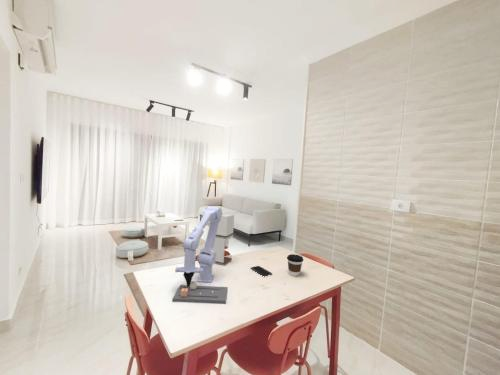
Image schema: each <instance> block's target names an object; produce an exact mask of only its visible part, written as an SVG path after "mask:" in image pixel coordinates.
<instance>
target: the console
mask: <svg viewBox="0 0 500 375" xmlns="http://www.w3.org/2000/svg"><path fill="white" fill-rule="evenodd" d="M182 288H188V295H187V297H181V290H182ZM228 289H229V287H228V286H215V285H214V286H211V285H210V286H209V285H207V286H206V285H197V287H196V289H190V286H187V284H180V285H179V286H178V288H177V289H176V292H175V293H174V295H173V297H172V302H175V303H176V302H177V303H197V304H198V303H199V304H200V303H201V304H220V305H222V304H223V305H224V304H225V305H226V303H227V295H228Z"/></svg>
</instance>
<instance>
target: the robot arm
mask: <svg viewBox="0 0 500 375" xmlns="http://www.w3.org/2000/svg"><path fill="white" fill-rule="evenodd" d="M202 213H203V215H202V217H201V219H200V221H199V222H198V225H197V226H194V228H193V229H192V231H191V232H190V234H189V236H188V237H187V238H185V239H184V240H183V243H182V247H183V252H184V258H183V259H184V261H183V262H184V263H183V264H184V265H183V266H181V267H178V266H177V267H176V268H175V269H174V270H175V271H174V272H175V273H183V277H184V280H185V282H186V285H187V286H190V283H191V281H193V280H192V279H193V277H194V275H195V274H199V277H198V279H197V283H198V282H201V283H211V282H212V281H213V277H214V274H213V266H214V265H215V264H214V263H215V261H216V252H215V251H214V250H213V246H214V242H215V237H216V233H217V229H218V224H219V221H221V216H223V214H222V213H223V210H222V208H221V207H219V206H210V205H206V206H205V207H204V209H203V212H202ZM208 223H209V226H208V227H209V228H208V229H207V230H208V232H207V235H206V240H205V245H204V247H203V248H202V249H200V250H199V253H198V255H197V249H198V247H199V244H200V239H201V238H202V236H203V234H204V229H205V228H206V226H207V225H208ZM196 256H197V260H196ZM196 261H197V263H199V264H198V265H199V267H196Z"/></svg>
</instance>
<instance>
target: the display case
mask: <svg viewBox="0 0 500 375" xmlns="http://www.w3.org/2000/svg"><path fill="white" fill-rule="evenodd" d="M234 223H235V214H234V213H233V214H229V215H223V212H222V216H221V221H219V224H218V229H217V233H216V237H215V242H214V246H213V250H214V251H215V252H216V261H215V263H214V265H218V266H223V267H225V266H227V265H228V264H229V263H230V262H232V260H233V258H232V257H229V256H225V250H227V249H229V240H230V239H233V238H234V225H235V224H234Z"/></svg>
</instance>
